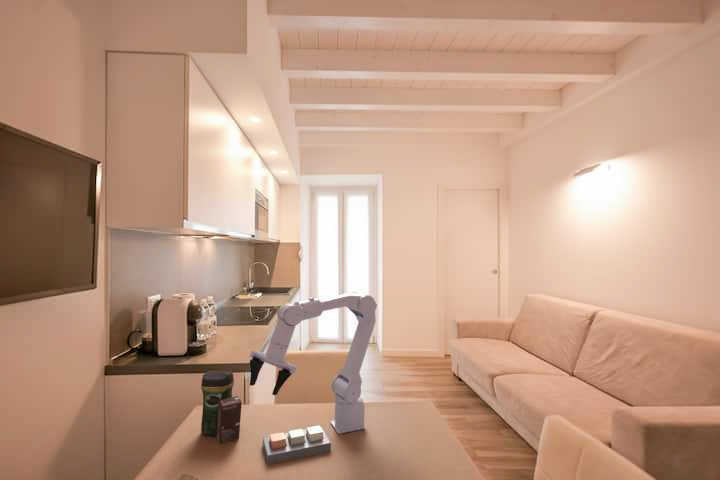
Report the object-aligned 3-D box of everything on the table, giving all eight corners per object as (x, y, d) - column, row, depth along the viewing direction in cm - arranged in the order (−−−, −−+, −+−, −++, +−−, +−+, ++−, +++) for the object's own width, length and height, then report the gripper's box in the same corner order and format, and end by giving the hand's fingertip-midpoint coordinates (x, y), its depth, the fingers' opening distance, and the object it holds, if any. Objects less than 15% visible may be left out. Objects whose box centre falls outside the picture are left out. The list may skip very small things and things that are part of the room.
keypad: (321, 434, 117) (321, 426, 117) (330, 451, 108) (330, 442, 108) (262, 445, 110) (263, 437, 110) (267, 464, 101) (268, 455, 101)
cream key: (319, 435, 114) (319, 425, 114) (322, 441, 110) (323, 431, 110) (306, 437, 112) (306, 427, 112) (309, 444, 109) (309, 434, 109)
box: (219, 444, 110) (221, 406, 109) (216, 436, 114) (218, 399, 113) (240, 439, 114) (242, 401, 113) (236, 431, 117) (238, 395, 116)
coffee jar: (237, 425, 122) (237, 367, 122) (227, 436, 114) (227, 375, 115) (208, 424, 122) (209, 367, 123) (196, 436, 114) (197, 375, 115)
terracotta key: (283, 442, 110) (283, 432, 110) (285, 449, 106) (286, 438, 106) (269, 444, 108) (269, 434, 108) (271, 452, 104) (271, 441, 104)
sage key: (301, 438, 112) (301, 428, 112) (304, 445, 108) (304, 435, 108) (288, 441, 110) (288, 431, 110) (291, 448, 106) (291, 437, 106)
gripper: (252, 335, 108) (235, 382, 106) (296, 352, 104) (279, 401, 102) (262, 335, 115) (247, 379, 112) (304, 351, 111) (289, 397, 109)
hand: (263, 389), depth 108 cm, fingers open, 7 cm apart
